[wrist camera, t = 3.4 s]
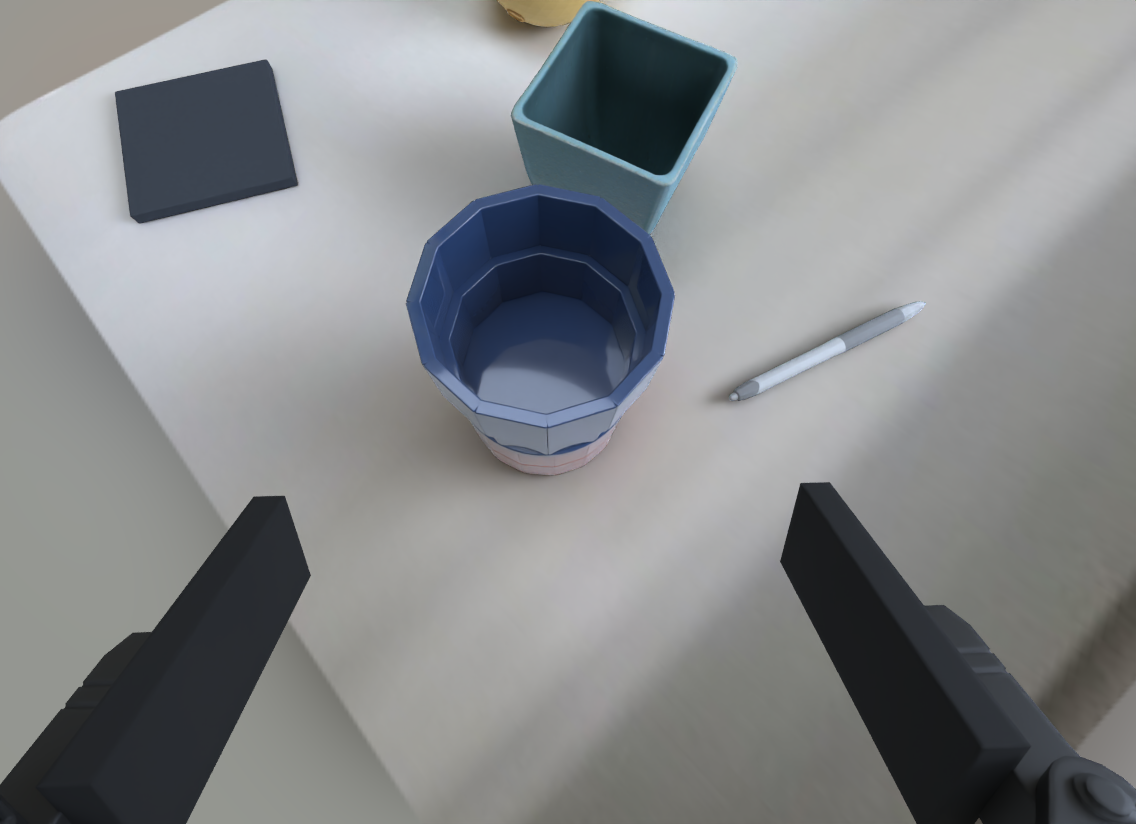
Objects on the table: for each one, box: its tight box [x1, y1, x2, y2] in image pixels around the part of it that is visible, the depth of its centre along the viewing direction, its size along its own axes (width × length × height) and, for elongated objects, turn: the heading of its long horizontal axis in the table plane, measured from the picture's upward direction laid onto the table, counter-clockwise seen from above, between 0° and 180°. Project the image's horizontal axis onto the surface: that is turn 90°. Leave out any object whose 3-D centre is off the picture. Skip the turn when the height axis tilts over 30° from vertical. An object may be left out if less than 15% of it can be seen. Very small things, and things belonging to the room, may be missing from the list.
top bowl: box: [406, 184, 675, 458], centre depth 22 cm, size 9×9×7 cm
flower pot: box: [511, 1, 738, 234], centre depth 31 cm, size 9×9×9 cm
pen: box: [729, 301, 926, 401], centre depth 32 cm, size 1×14×1 cm, turn 117°
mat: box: [115, 60, 297, 223], centre depth 35 cm, size 10×10×1 cm
